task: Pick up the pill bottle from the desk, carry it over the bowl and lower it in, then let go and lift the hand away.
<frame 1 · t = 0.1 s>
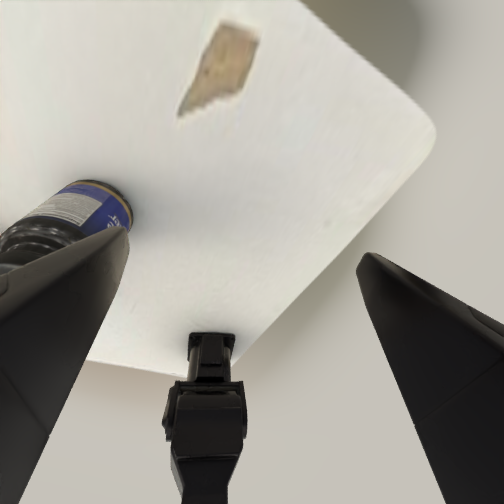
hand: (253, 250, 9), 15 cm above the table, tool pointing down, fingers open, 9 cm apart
pill bottle: (100, 208, 23), on the table
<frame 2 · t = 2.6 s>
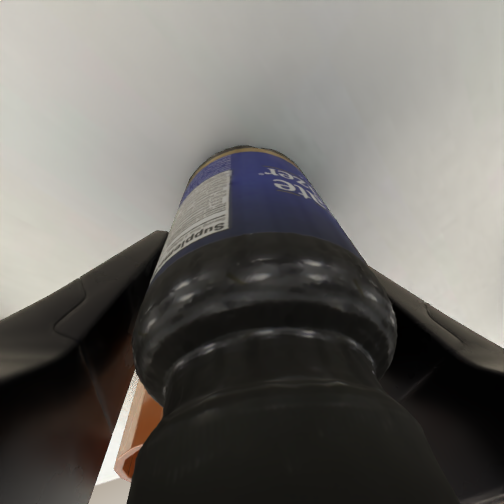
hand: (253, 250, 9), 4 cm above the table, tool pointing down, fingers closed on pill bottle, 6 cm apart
bowl: (215, 377, 22), on the table
pill bottle: (246, 206, 13), on the table, touching gripper
when the fingers open (4 cm above the table, at t = 8.3 s): pill bottle stays where it is, resting on bowl.
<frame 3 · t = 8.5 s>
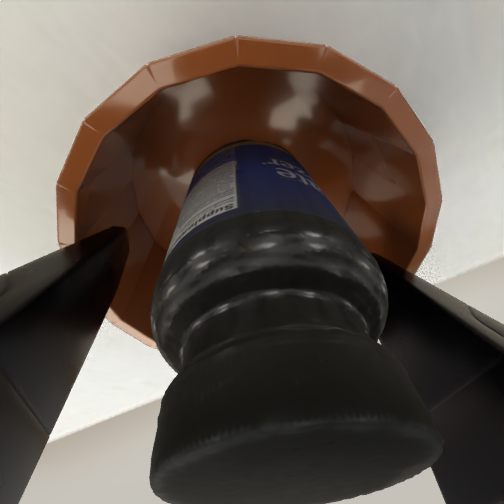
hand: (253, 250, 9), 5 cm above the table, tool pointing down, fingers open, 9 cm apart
bowl: (245, 196, 13), on the table
pill bottle: (248, 198, 13), resting on bowl
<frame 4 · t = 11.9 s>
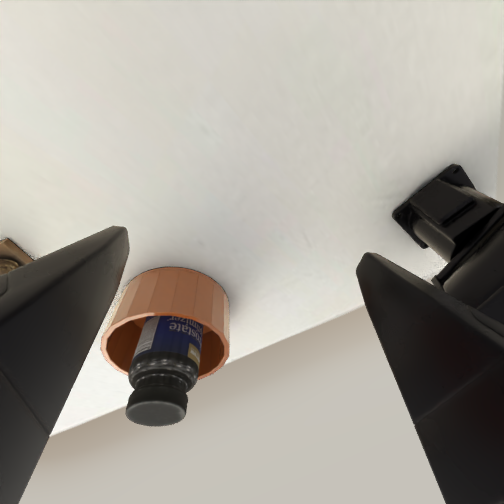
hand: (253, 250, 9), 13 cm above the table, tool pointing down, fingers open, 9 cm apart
bowl: (177, 306, 29), on the table
pill bottle: (178, 308, 29), resting on bowl
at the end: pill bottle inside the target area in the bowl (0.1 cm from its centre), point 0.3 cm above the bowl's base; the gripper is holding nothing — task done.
